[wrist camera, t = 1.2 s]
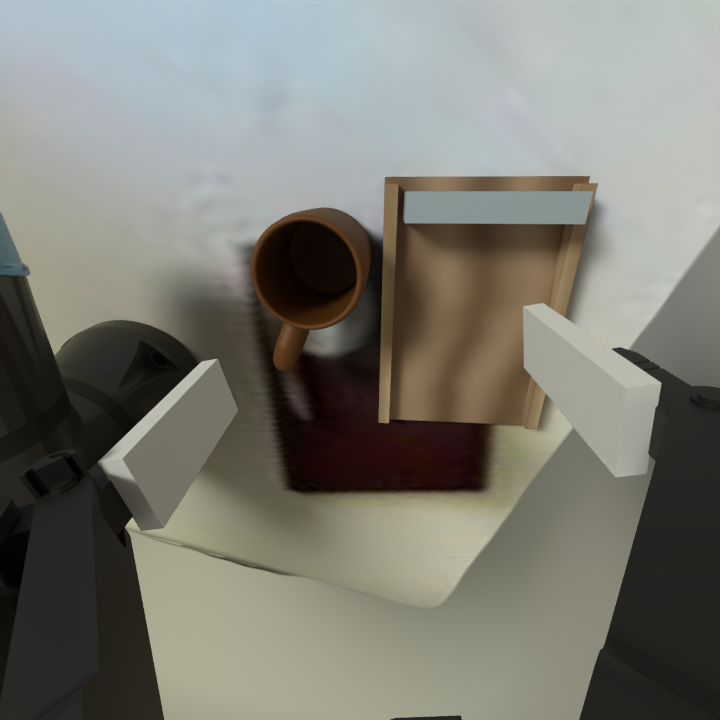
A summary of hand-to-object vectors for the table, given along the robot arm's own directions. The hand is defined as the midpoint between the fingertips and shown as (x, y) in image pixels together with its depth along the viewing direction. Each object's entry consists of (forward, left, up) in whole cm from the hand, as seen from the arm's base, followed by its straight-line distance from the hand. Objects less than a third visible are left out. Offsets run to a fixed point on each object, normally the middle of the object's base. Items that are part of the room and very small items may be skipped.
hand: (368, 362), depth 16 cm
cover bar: (+8, +6, -17) cm, 19 cm away
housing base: (+8, -3, -18) cm, 20 cm away
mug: (-5, 0, -18) cm, 19 cm away
